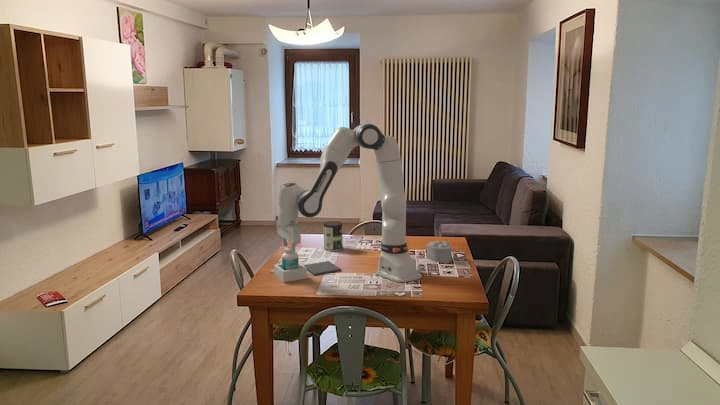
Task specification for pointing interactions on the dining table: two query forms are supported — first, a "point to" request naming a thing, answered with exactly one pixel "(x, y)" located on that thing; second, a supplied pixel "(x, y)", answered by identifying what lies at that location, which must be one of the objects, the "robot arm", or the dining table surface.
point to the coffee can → (333, 236)
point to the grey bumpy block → (439, 251)
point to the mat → (322, 268)
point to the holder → (290, 273)
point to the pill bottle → (289, 260)
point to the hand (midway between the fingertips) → (288, 248)
